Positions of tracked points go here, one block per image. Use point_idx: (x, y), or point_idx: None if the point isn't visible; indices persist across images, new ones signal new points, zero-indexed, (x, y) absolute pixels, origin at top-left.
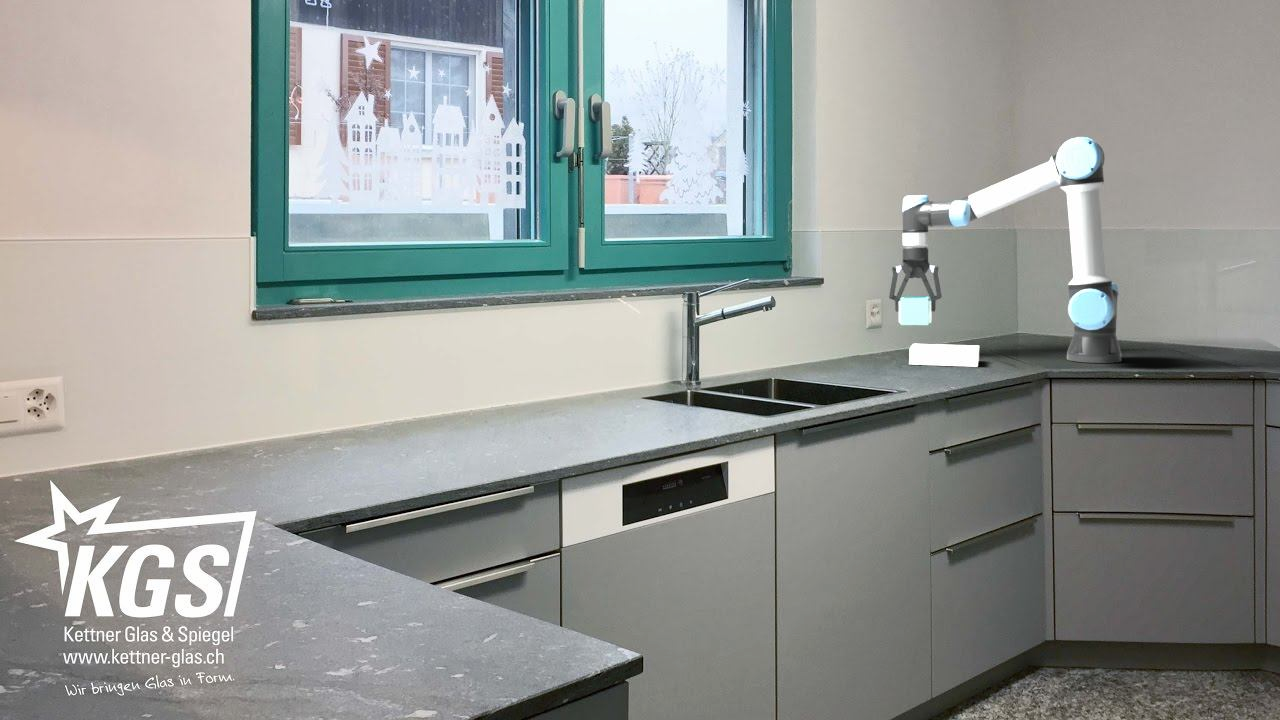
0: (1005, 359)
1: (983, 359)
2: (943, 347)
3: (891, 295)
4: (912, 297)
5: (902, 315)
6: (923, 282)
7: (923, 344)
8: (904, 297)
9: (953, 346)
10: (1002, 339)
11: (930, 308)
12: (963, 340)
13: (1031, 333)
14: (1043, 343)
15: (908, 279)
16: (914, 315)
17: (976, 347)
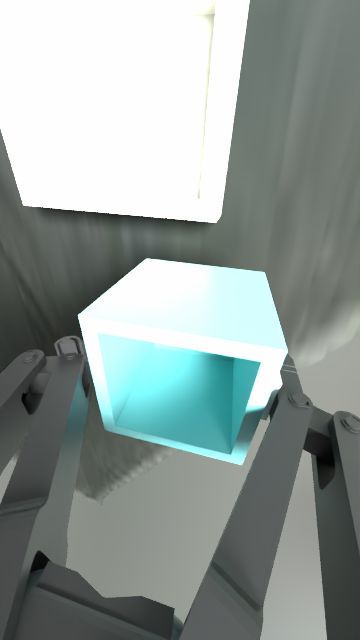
0: (24, 260)
1: (60, 253)
2: (119, 194)
3: (353, 435)
4: (190, 440)
5: (259, 288)
6: (50, 483)
7: (181, 206)
8: (239, 428)
9: (88, 192)
10: (97, 468)
11: None
12: (138, 469)
13: (82, 494)
14: None
15: (196, 595)
16: (195, 281)
17: (10, 138)
